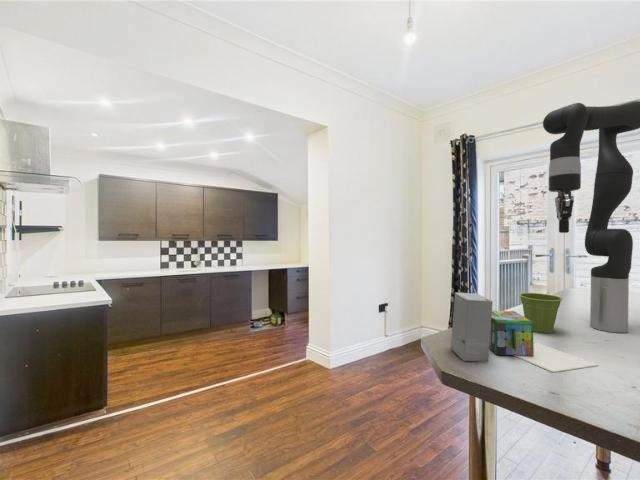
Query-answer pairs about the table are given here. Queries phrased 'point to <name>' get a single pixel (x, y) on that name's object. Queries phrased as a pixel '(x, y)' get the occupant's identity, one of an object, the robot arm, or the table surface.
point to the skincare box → (471, 326)
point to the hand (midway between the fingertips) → (563, 232)
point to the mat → (554, 359)
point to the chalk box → (511, 334)
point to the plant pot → (540, 310)
